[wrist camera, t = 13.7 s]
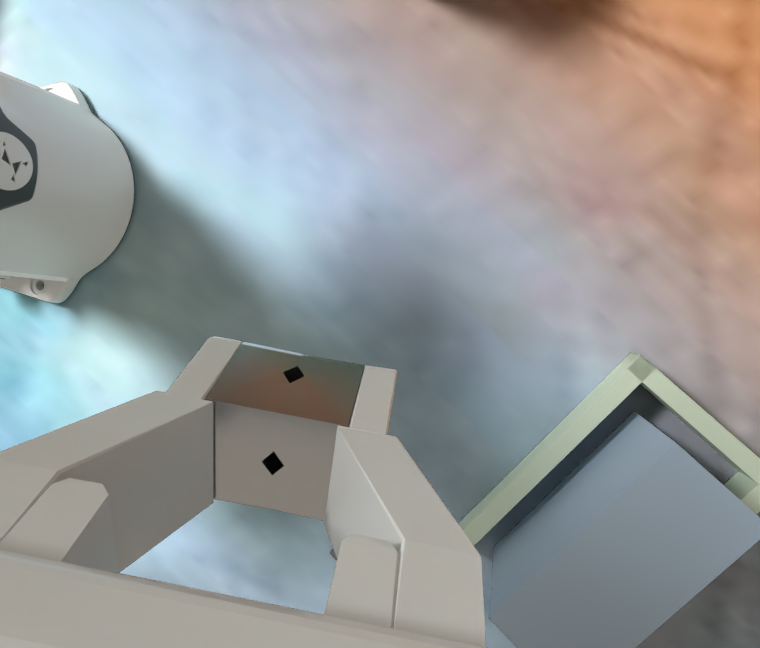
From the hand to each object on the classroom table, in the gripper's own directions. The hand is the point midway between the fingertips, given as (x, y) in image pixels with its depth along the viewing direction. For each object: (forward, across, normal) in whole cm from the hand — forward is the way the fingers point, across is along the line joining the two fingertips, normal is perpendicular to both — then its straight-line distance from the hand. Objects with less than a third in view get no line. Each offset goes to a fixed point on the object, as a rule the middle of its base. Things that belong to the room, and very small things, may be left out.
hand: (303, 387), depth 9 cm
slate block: (+22, -17, +23) cm, 36 cm away
